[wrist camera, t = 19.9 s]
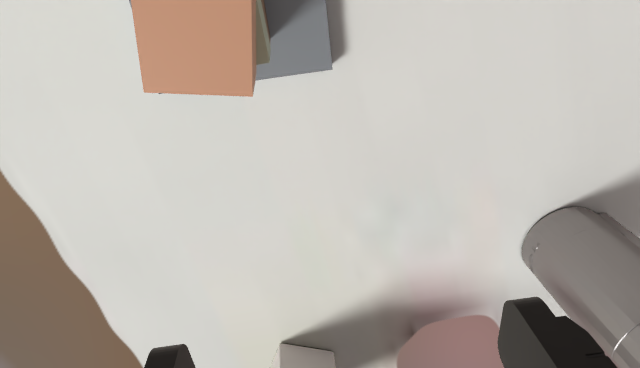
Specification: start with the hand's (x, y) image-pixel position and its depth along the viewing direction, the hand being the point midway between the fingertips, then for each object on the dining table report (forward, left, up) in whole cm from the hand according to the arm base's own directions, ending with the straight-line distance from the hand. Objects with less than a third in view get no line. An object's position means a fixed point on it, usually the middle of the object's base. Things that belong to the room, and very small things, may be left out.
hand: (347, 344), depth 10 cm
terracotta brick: (+4, -8, -17) cm, 19 cm away
